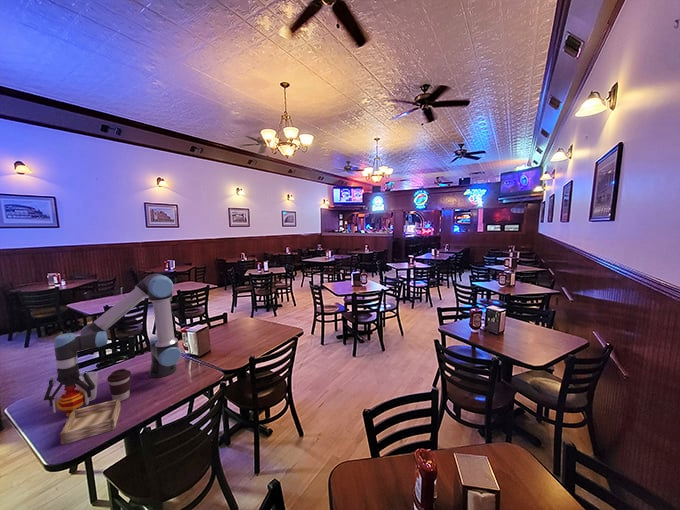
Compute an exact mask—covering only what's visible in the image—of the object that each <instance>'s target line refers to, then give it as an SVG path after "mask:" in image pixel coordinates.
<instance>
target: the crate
mask: <svg viewBox="0 0 680 510" xmlns="http://www.w3.org/2000/svg"><path fill="white" fill-rule="evenodd" d="M121 407H122V406H121V401H120V398H119V399H116V400H113V399H112V400H109V401H105V402H101V403H97V404H93V405H87V406H85V407H80V408H79V409H75V410H73V411H72V413H71V415H70V416H69V417H68V418H67V421H66V422H65V425H64V426H63V428H62V430H61V432H60V434H59V435H60V444H61V446H62V445H66V444H71V443H73V442H77V441H81V440H83V439H87V438H90V437H94V436H97V435H100V434H101V435H102V434H105V433H107V432H111V431H114V430H116V426H117V423H118V420H119V419H118V418H119V416H120V412H121Z"/></svg>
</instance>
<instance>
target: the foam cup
mask: <svg viewBox="0 0 680 510" xmlns="http://www.w3.org/2000/svg"><path fill="white" fill-rule="evenodd" d="M87 372H88V371H87ZM88 376H89V377H90V379H91V380H92V382H93V383H94V385H95V388H94V389H93V390H91V396H90V397H89V402H91V401H93V400H95V399H96V398H97V391H98V381H99V372H98V371H89V372H88ZM79 378H80V379H81V381H83V382H84V383H85V384H86V385H88V384H87V382H86V381H85V380H84V377H82V376H79ZM75 385H76V388H75V389H78V390H80V391H82V392H84V393H85V392H86V391H85V390H84V389H82V388H81V387H80V386H79V385H77V384H75ZM88 386H89V385H88ZM84 404H86V401H85V402H84Z"/></svg>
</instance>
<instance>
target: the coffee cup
mask: <svg viewBox="0 0 680 510" xmlns="http://www.w3.org/2000/svg"><path fill="white" fill-rule="evenodd" d="M131 372H132V371H131V370H128V369H126V368H120V369H117V370H114V371H112V372H111V373H110V375H108V376H107V378H106V379H107V382H108V383H109V384H108V385H109V390H110V395H111V399H112V401H113V400H116V399H119V398H120V402H122V401H125V400H127V399H128V398H129V397H130V395H131V394H130V390H131V374H132V373H131Z"/></svg>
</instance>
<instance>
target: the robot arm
mask: <svg viewBox="0 0 680 510" xmlns="http://www.w3.org/2000/svg"><path fill="white" fill-rule="evenodd" d="M173 290H174V283H173V281H172V280H171V279H170V278H169V277H168V276H167V275H163V274H161V273H157V272H156V273H152V274H149V275H147V276H146V277H144V278H143V279H142V280H141V281H139V282H138V283H137V284H136V285H135V286H134V289H133V290H131V291H130V292H129V293H128V294H126V295H125V296H124V297H122V298H121V299H120V300H119V301H118V302H116V303H115V304H114V305H113V306H111V307H110V308H109V309H108V310H106V311H105V312H104V313H103V314H102V315H100V316H99V317H98V318H97V319H95V320H94V321H92V322H91V323H90V324H88V325H86V326H84V327H83V328H82V329H81V331H80V334H79V335H77V336H76V334H75V333H74V332H69V333H62V334H60V335H59V334H58V335H57V336H56V337H54V340H53V342H54V343H53V346H54V355H55V362H56V364H55V365H56V368H57V369H56V374H57V377H51V378H50V379H49V380H48V387H47V389H46V393H45V395H44V397H43V401H44V402H45V401H49V406H50V407H52V410H53V414H56V413H57V412H58V410H59V409H58V408H57V402H58V398H57V397H56V395H57V394H58V393H59V391H60V389H61V388H62V387H63V386H65V385H68V384H73V383H75V384H77V385H79V386H80V387H81V388H82V389H84V390H85V391H86V392H85V401H86V402H85V406H89V403H90V401H89V397H90V396H91V390H93V389H94V388H95V385H94V383H93V382H92V380H91V379H90V377H89V376H88V371H87V370H85V371H84V372H80V369H79V360H78V352H83V351H85V350H91V349H95V348H100V347H104V346H106V345H108V334H107V330H108V329H109V328H111V327H112V326H113V325H115V323H117V322H118V321H119V320H120V319H121V318H123V317H124V316H125V315H127V313H128V312H130V311H131V310H132V309H134V308H135V307H136V306H137V305H138V304H139V303H140V302H142V301H143V300H144V299H145V298H148V301H150V302H151V303H152V307H153V315H154V323H155V331H156V337H154V338H151V339H150V342H149V343H150V344H149V345H150V357H151V358H150V359H151V364H150V367H149V370H148V374H149V377H150V378H154V379H155V378H163V377H167V376H169V375H172V374H174V373H175V372H176V371H177V369H178V365H177V363H178V362H179V360H180V359H181V358H182V351H181V348H179V342H178V338H177V337H175V332H174V330H175V329H174V324H173V314H172V313H173V312H172V305H171V299H172V298H173ZM79 376H82V377H84V380H85V381H86V382H87V384H88V385H89V386H88V385H86V384H85V383H84V382H83V381H81V379H80V378H79ZM56 382H58V383H59V385H58V386H57V387H56V389H55V390H54V392H52V390H53V387H54V385H55V383H56ZM51 393H52V395H51Z"/></svg>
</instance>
